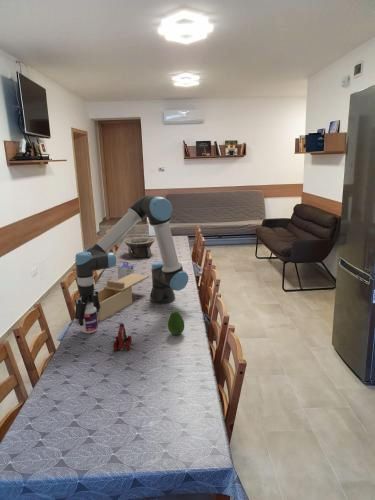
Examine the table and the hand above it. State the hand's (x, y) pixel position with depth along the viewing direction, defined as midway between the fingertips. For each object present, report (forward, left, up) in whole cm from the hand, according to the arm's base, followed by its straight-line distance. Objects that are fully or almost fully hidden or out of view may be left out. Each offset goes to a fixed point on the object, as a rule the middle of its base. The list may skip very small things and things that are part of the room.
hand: (89, 327), depth 182 cm
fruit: (-41, -15, -2) cm, 44 cm away
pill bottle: (0, 0, -2) cm, 2 cm away
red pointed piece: (-25, +6, -2) cm, 26 cm away
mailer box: (+8, -25, -2) cm, 26 cm away
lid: (+8, -44, +9) cm, 45 cm away
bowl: (+59, -131, -2) cm, 144 cm away
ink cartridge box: (+27, -67, -2) cm, 72 cm away
